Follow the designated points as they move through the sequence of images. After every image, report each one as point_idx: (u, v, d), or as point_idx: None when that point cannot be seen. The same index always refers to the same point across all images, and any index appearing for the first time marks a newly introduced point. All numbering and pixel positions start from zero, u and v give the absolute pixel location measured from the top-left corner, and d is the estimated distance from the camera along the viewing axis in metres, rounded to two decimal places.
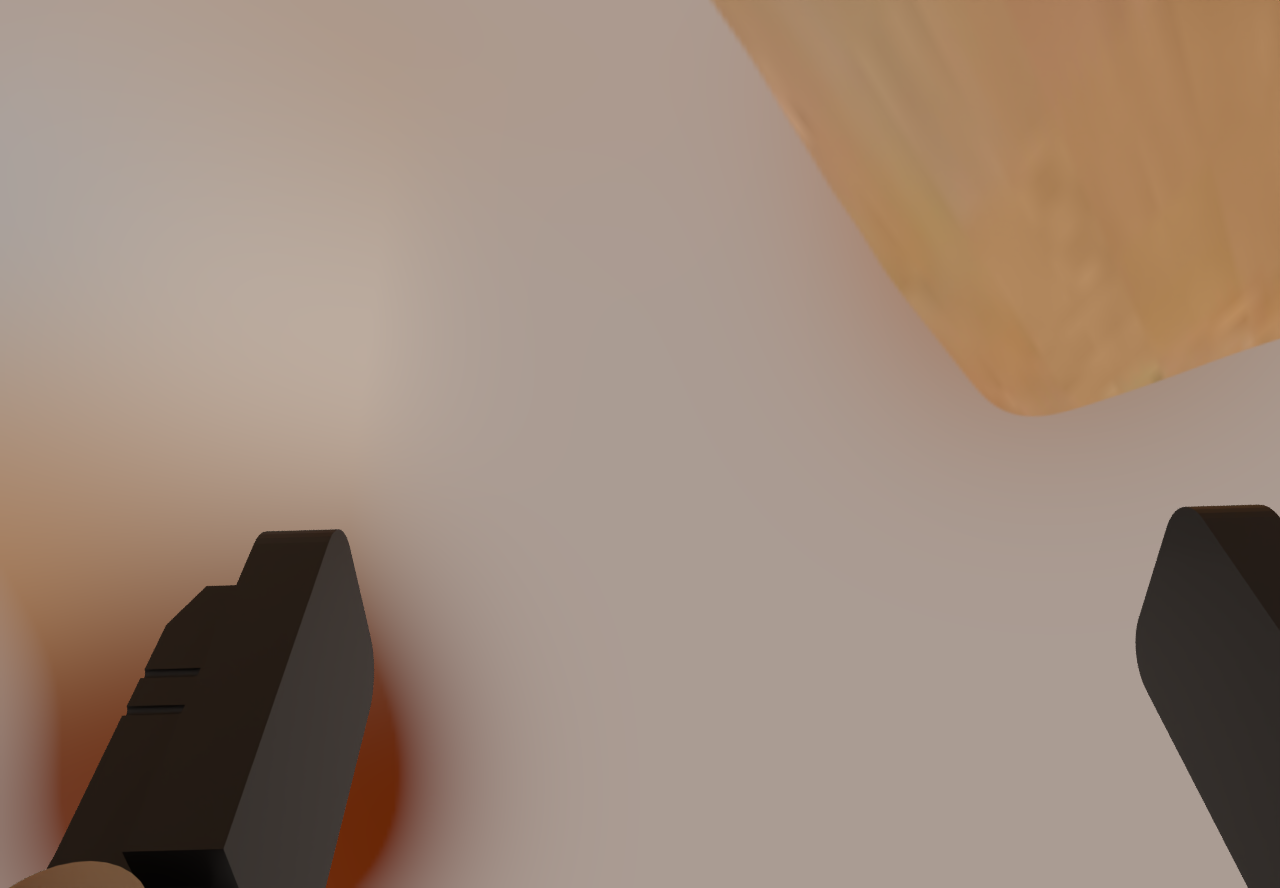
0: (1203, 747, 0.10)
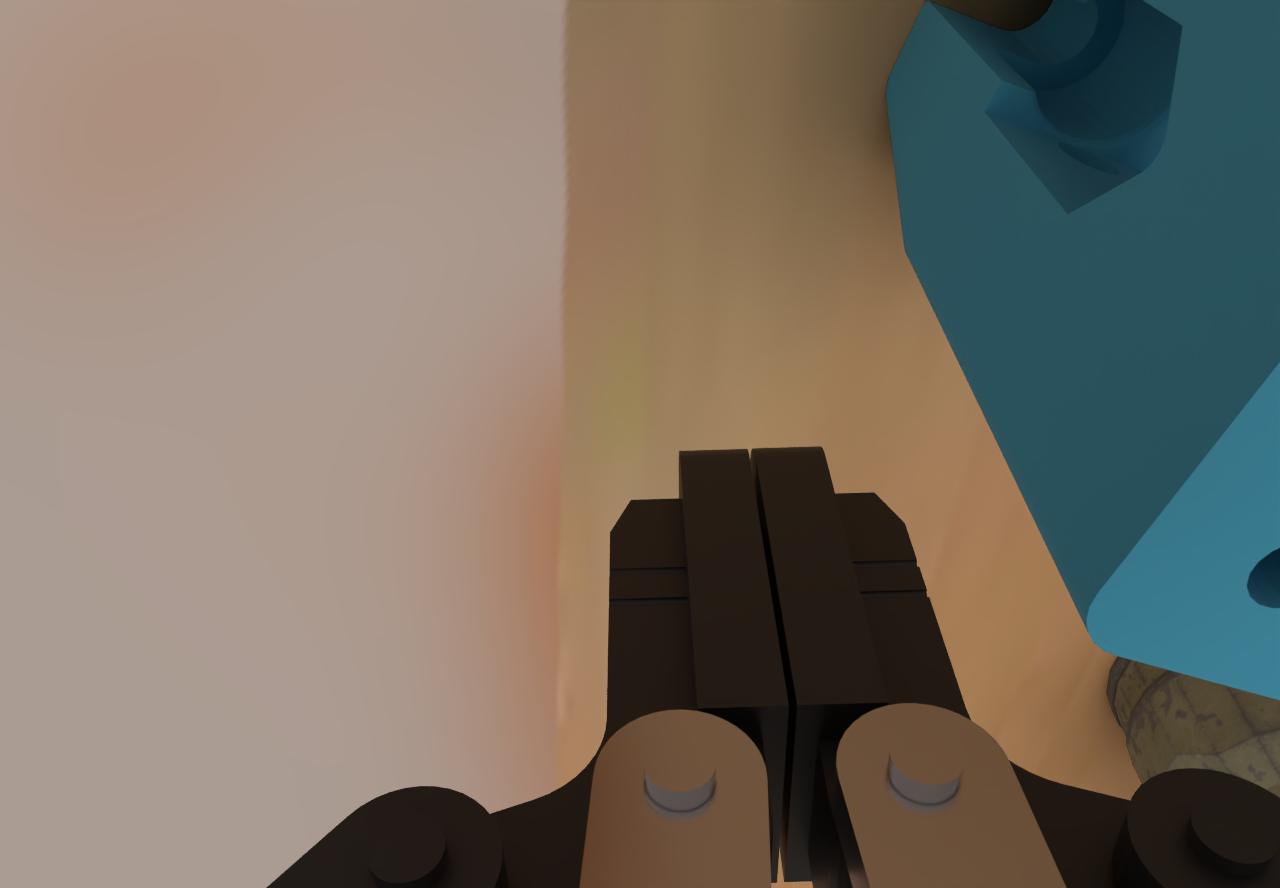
0: None
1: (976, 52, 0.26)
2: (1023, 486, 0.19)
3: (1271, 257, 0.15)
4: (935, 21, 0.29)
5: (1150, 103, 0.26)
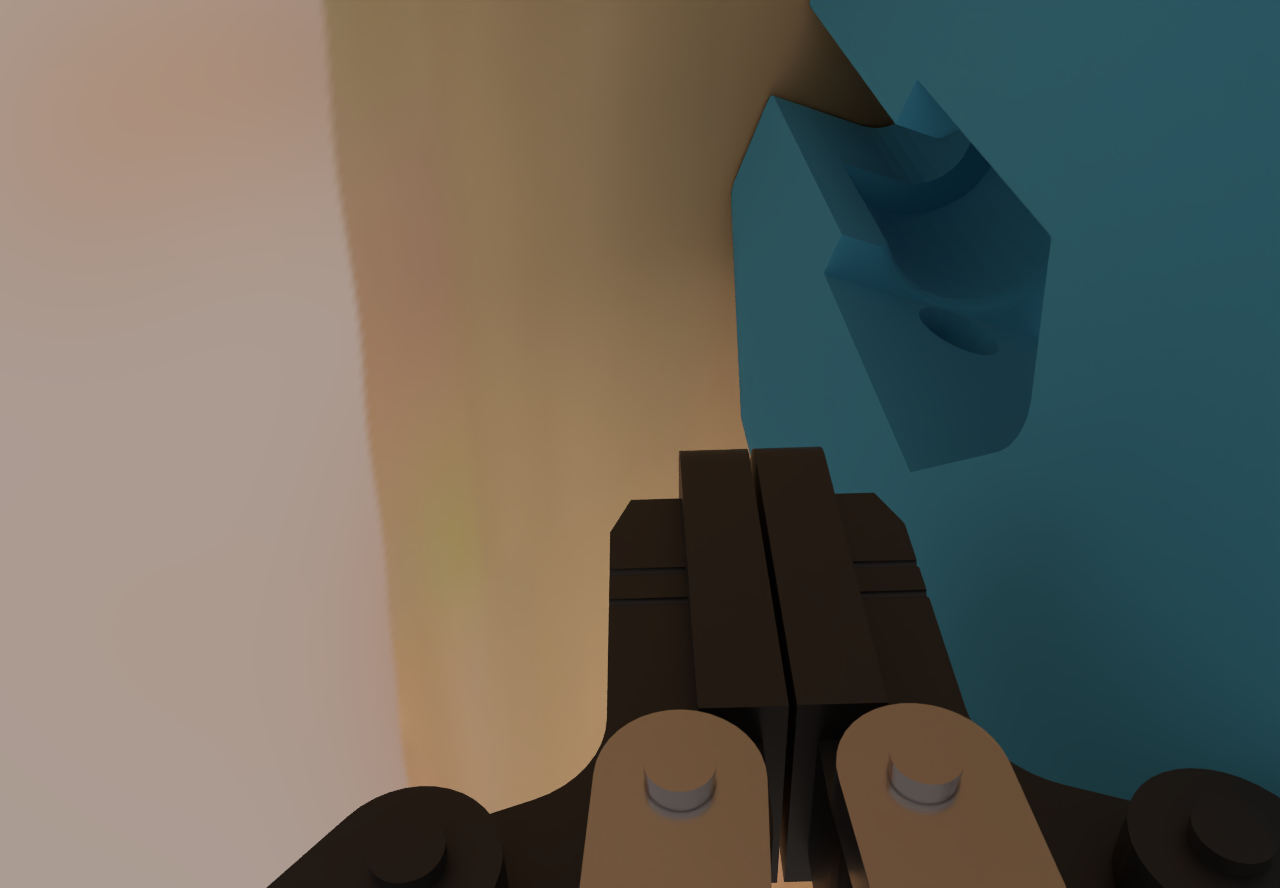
0: None
1: (818, 184, 0.21)
2: None
3: (1178, 697, 0.09)
4: (779, 126, 0.24)
5: (1036, 249, 0.20)
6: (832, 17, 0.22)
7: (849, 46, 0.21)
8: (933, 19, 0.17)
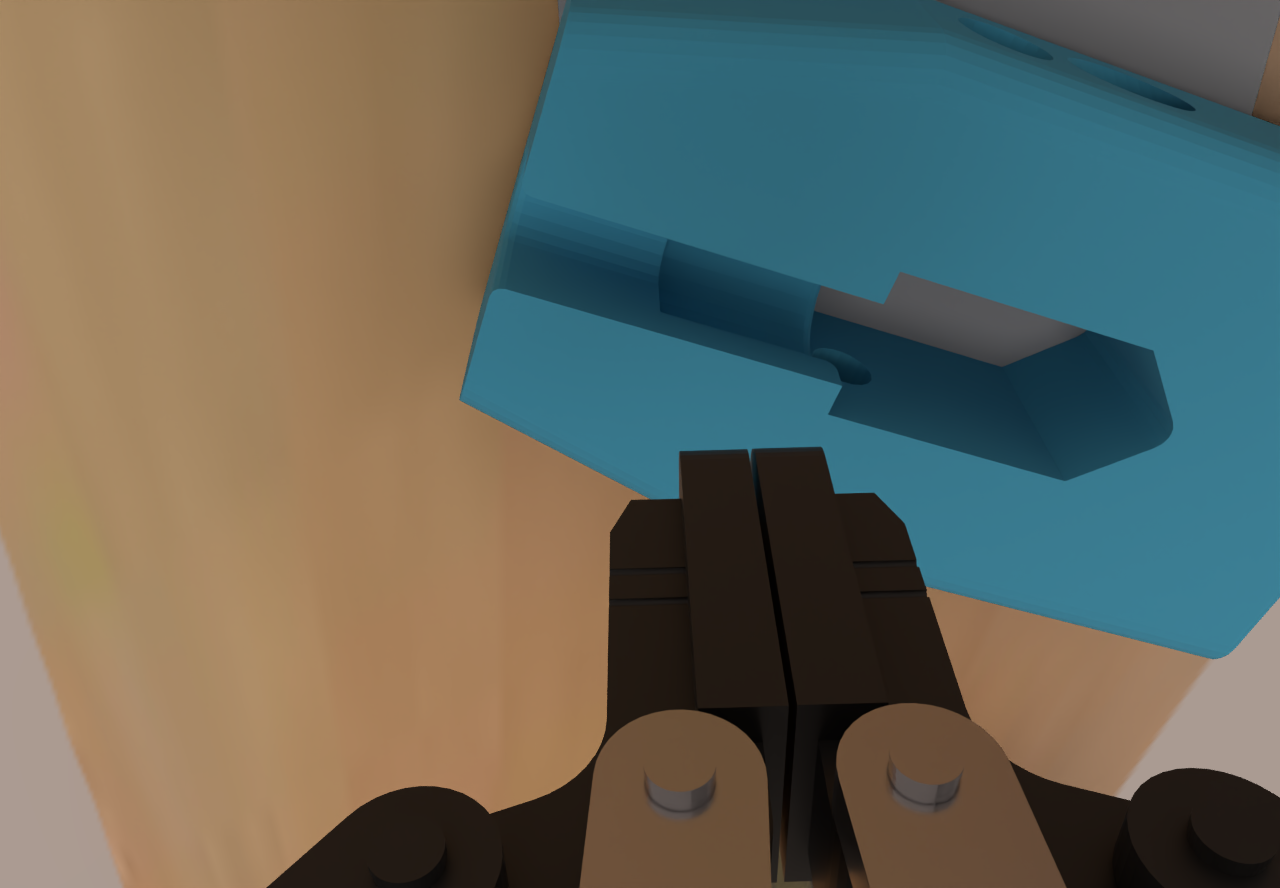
0: None
1: (742, 356, 0.23)
2: (1110, 628, 0.27)
3: None
4: (567, 317, 0.22)
5: None
6: (628, 213, 0.21)
7: (711, 242, 0.21)
8: (896, 227, 0.21)
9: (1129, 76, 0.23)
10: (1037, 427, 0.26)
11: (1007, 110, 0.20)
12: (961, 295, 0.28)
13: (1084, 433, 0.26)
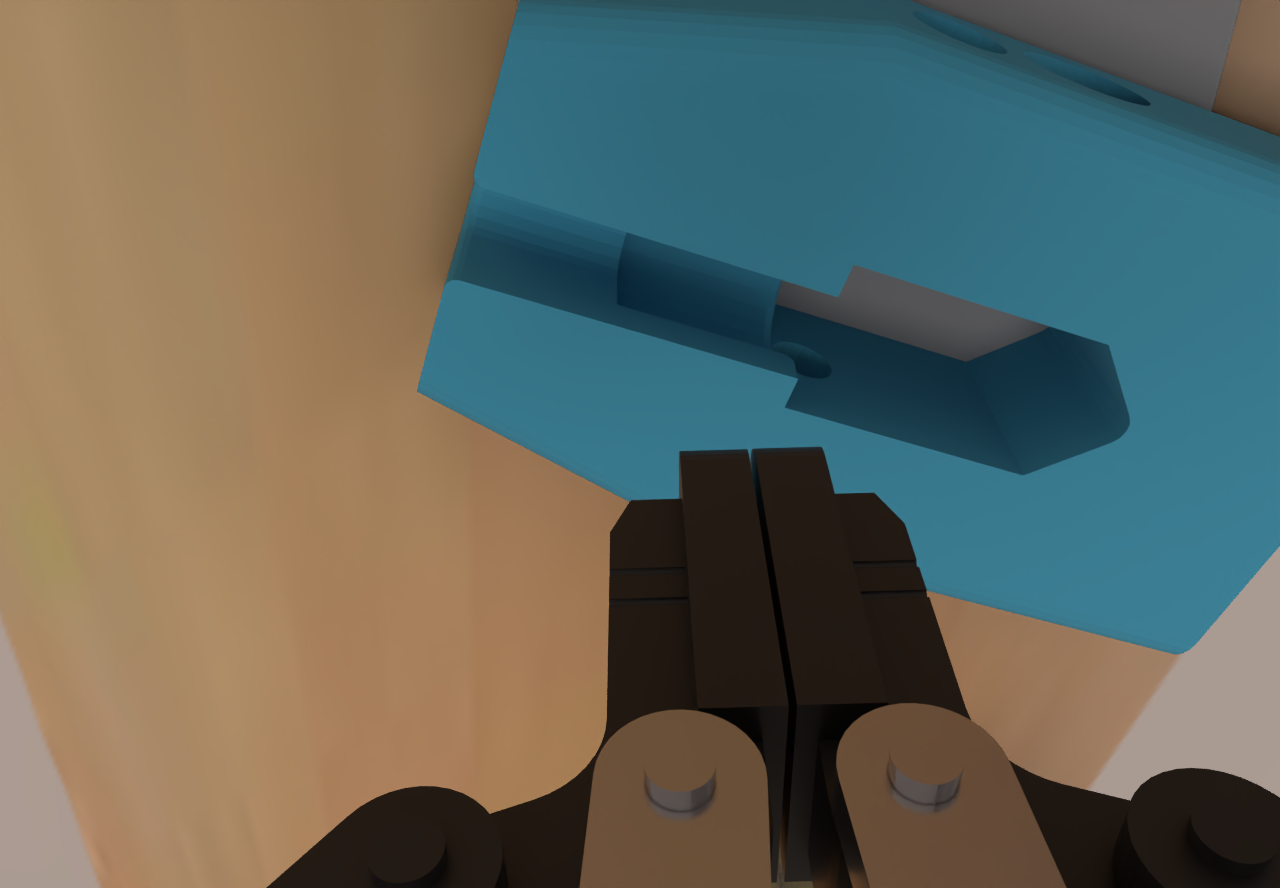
0: None
1: (698, 349, 0.23)
2: (1071, 623, 0.27)
3: (1275, 474, 0.25)
4: (522, 309, 0.22)
5: None
6: (580, 204, 0.21)
7: (664, 234, 0.21)
8: (849, 220, 0.21)
9: (1086, 70, 0.23)
10: (998, 422, 0.26)
11: (957, 103, 0.20)
12: (925, 289, 0.28)
13: (1043, 428, 0.26)
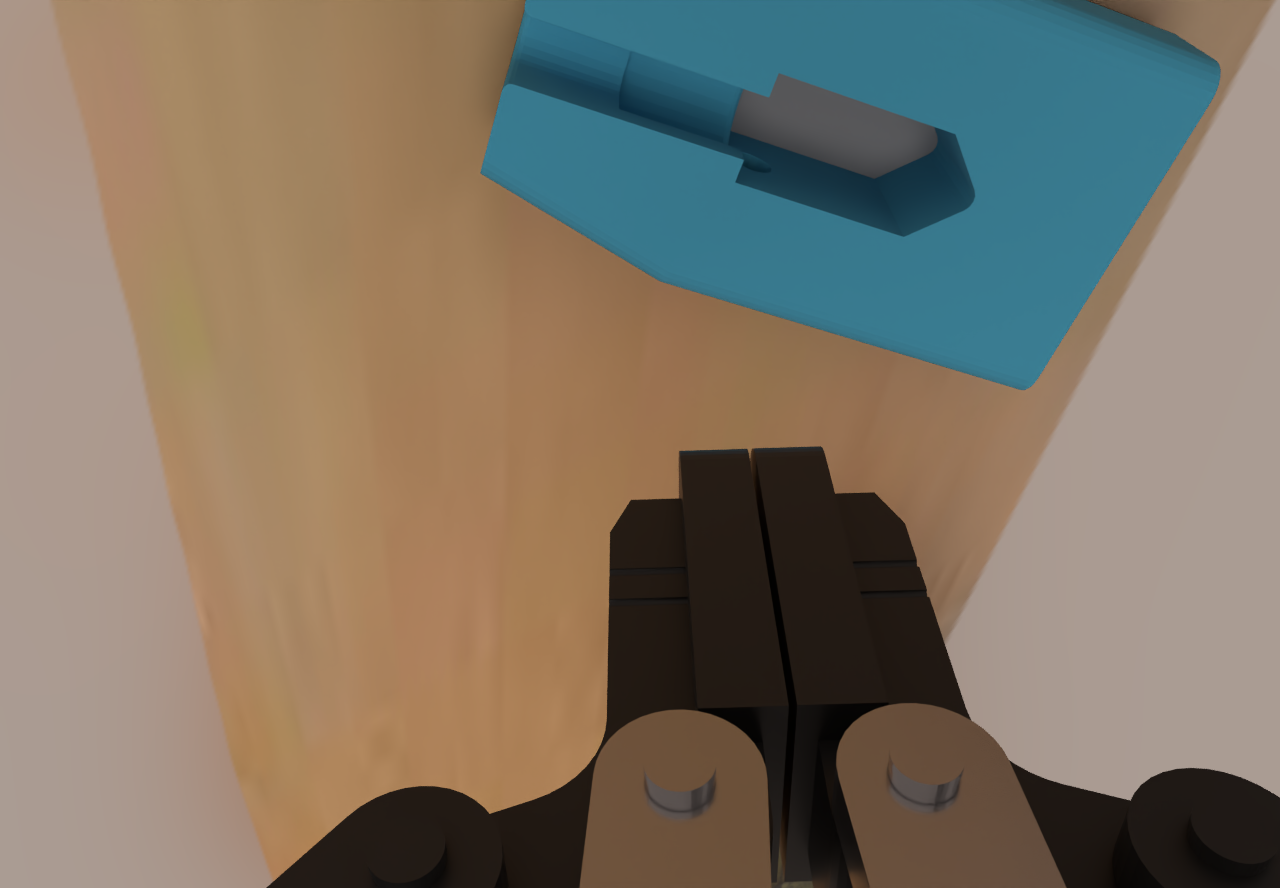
0: None
1: (675, 137, 0.33)
2: (947, 361, 0.38)
3: (1081, 237, 0.35)
4: (555, 106, 0.33)
5: (719, 96, 0.37)
6: (595, 28, 0.32)
7: (651, 51, 0.32)
8: (774, 40, 0.32)
9: None
10: (891, 209, 0.37)
11: None
12: (841, 120, 0.38)
13: (921, 209, 0.36)
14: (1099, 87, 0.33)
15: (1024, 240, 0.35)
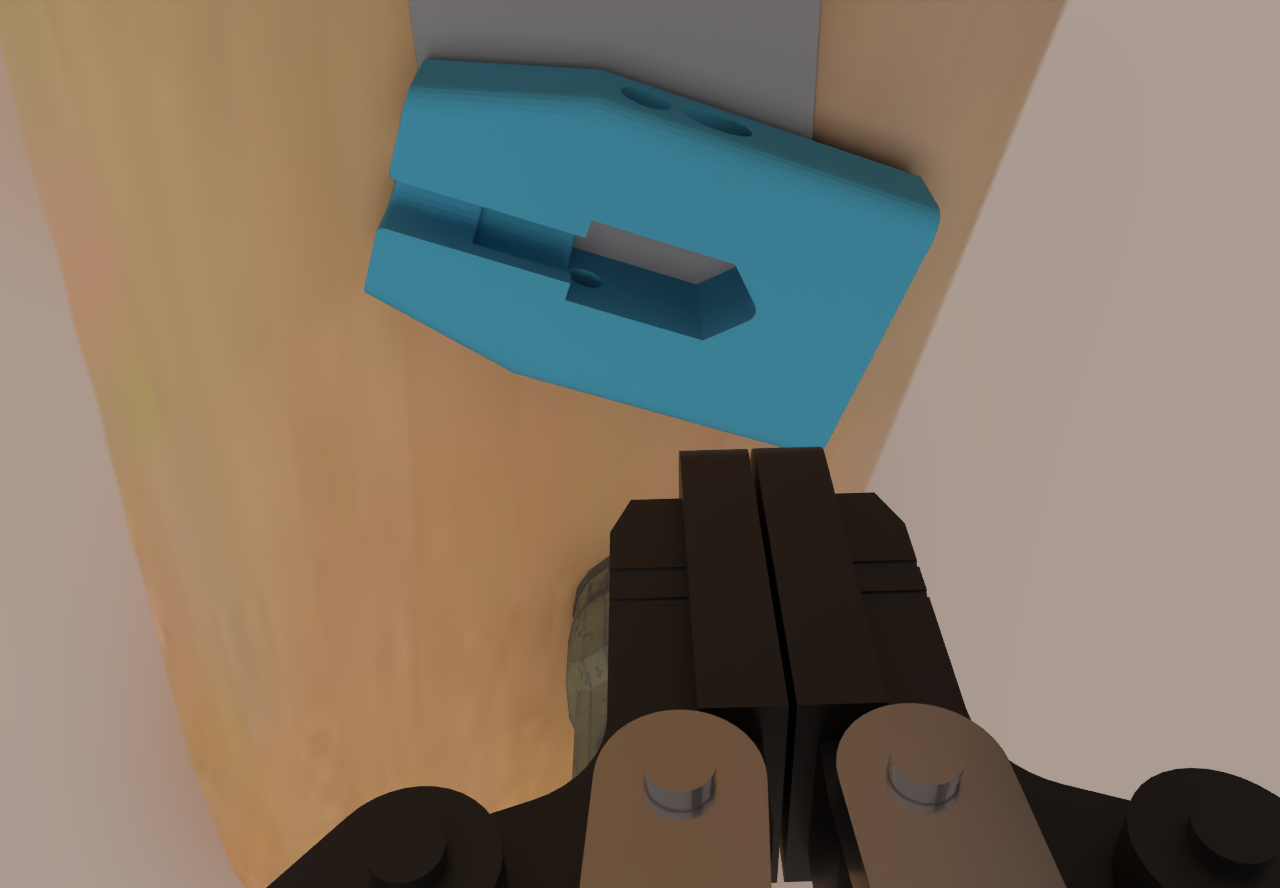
0: None
1: (514, 266, 0.43)
2: (749, 434, 0.47)
3: (844, 340, 0.44)
4: (418, 244, 0.42)
5: None
6: (445, 188, 0.41)
7: (490, 204, 0.41)
8: (585, 196, 0.41)
9: (724, 117, 0.43)
10: (700, 314, 0.46)
11: (632, 136, 0.40)
12: None
13: (721, 316, 0.45)
14: (844, 230, 0.42)
15: (799, 343, 0.45)
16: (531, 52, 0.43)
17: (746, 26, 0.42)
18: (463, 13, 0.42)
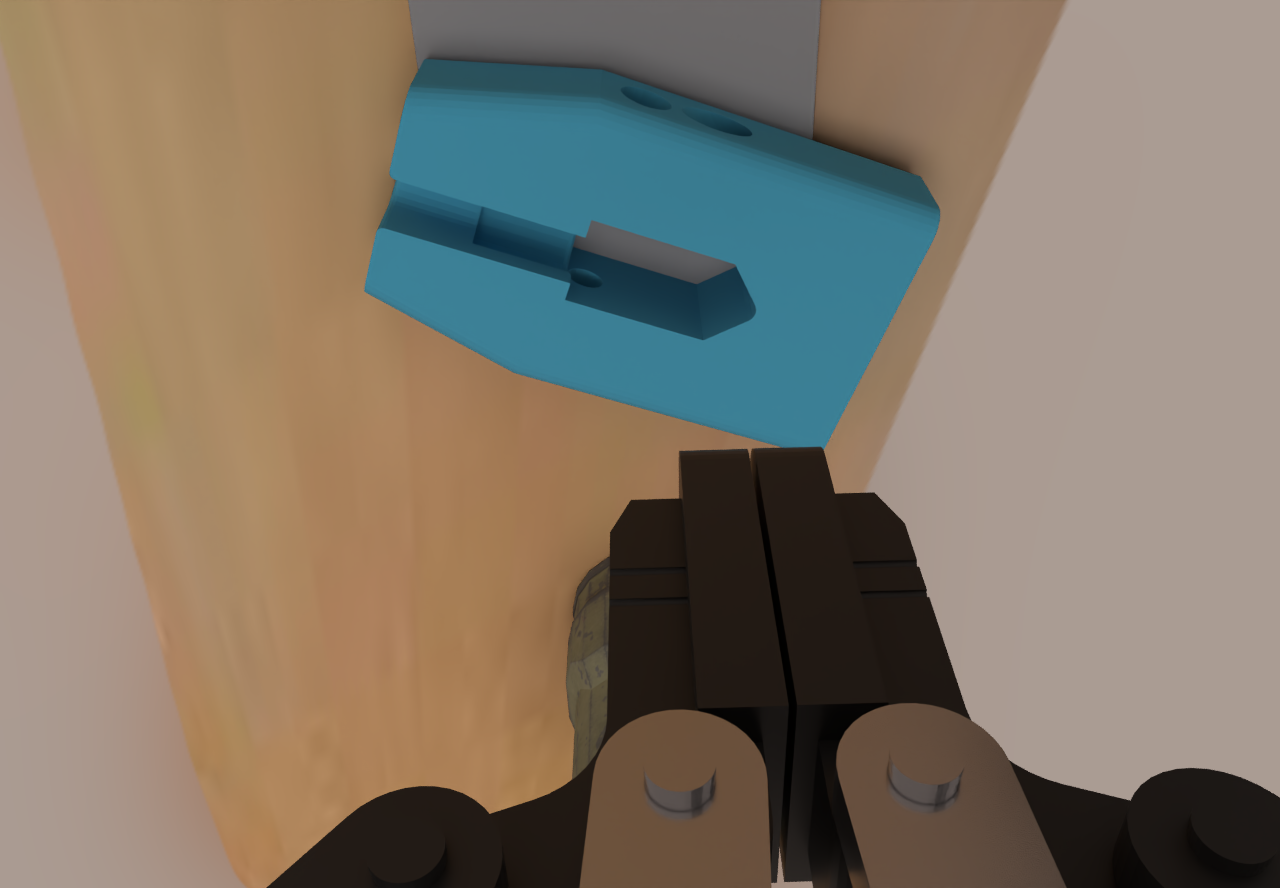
0: None
1: (514, 266, 0.43)
2: (749, 434, 0.47)
3: (844, 340, 0.44)
4: (418, 244, 0.42)
5: None
6: (445, 188, 0.41)
7: (490, 204, 0.41)
8: (585, 196, 0.41)
9: (724, 116, 0.43)
10: (700, 314, 0.46)
11: (632, 136, 0.40)
12: None
13: (721, 316, 0.45)
14: (844, 229, 0.42)
15: (799, 343, 0.45)
16: (531, 52, 0.43)
17: (746, 26, 0.42)
18: (463, 13, 0.42)
